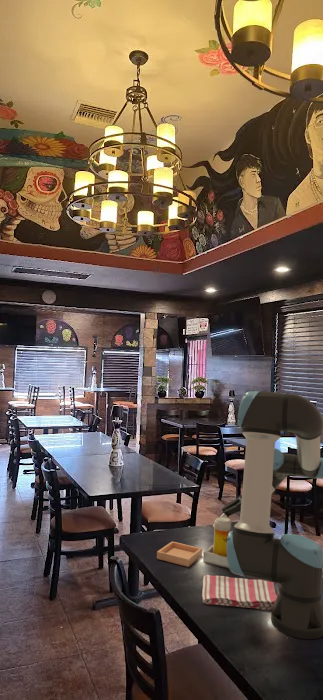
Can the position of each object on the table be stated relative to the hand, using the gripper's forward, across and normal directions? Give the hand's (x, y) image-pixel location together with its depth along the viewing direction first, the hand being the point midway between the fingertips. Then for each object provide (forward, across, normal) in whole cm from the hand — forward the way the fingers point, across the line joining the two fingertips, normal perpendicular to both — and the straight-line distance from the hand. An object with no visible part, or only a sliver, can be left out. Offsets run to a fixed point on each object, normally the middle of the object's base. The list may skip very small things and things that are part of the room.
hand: (223, 534), depth 178 cm
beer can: (+7, -1, -6) cm, 9 cm away
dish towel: (+13, -26, -1) cm, 29 cm away
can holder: (+7, -1, -6) cm, 9 cm away
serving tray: (+17, +6, +4) cm, 18 cm away
